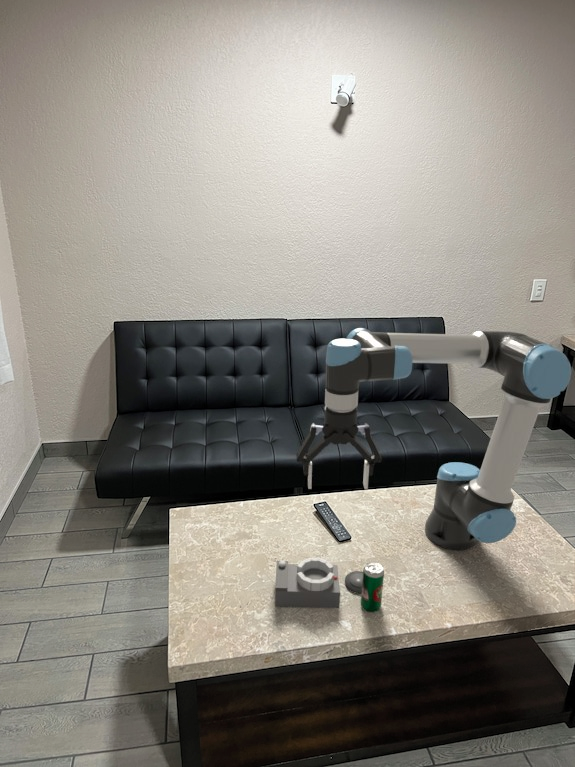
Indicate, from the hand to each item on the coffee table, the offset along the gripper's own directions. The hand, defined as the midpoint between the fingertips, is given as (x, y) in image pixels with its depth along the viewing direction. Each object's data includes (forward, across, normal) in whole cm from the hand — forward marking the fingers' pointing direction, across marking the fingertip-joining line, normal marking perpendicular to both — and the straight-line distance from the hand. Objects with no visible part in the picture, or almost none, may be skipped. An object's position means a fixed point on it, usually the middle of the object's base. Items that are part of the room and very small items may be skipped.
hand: (337, 486), depth 131 cm
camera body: (+30, +7, +3) cm, 31 cm away
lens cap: (+30, -7, -1) cm, 31 cm away
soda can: (+30, -9, +8) cm, 33 cm away
